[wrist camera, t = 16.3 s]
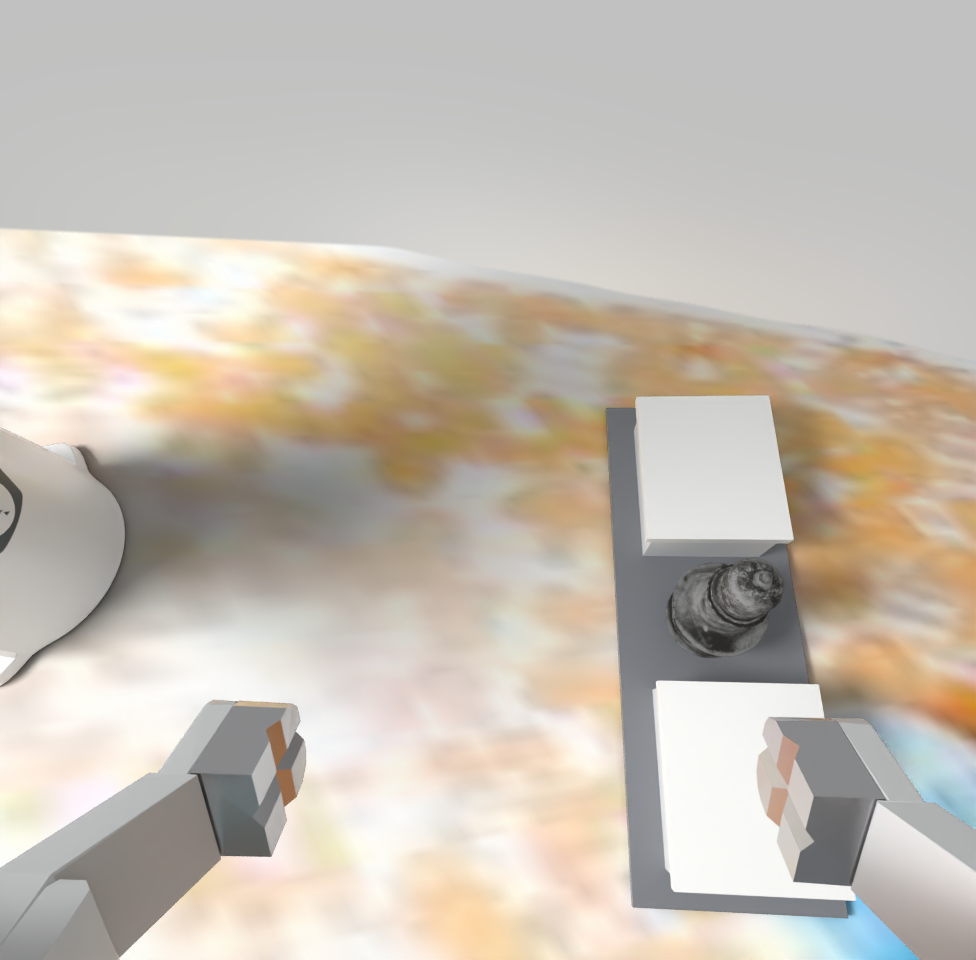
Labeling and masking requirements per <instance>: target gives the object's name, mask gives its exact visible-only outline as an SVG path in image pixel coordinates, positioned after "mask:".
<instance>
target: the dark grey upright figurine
mask: <svg viewBox="0 0 976 960" xmlns="http://www.w3.org/2000/svg"><path fill="white" fill-rule="evenodd" d="M784 591H785V585H784V580H783V578H782V575H781V573H780V572H779V571H778V569H777V568H776V567H775V566H774V565H772V564H771V563H770V562H768V561H766V560H764V559H760V558H746V559H742V560H740V561H739V562H737V563H736V564H730V565H728V564H724V563H712V562H709V563H705V564H701V565H697V566H695V567H694V568H692V569H690V570H688V571H687V572H686V573H685V574H684V575H683V576H682V577H681V578H680V579H679V581H678V583H677V585H676V587H675V588H674V592H673V593H672V594H671V596H670V598H669V600H668V602H667V607H666V611H665V612H666V623H667V626H668V629H669V632H670V633H671V635H672V637H673V638H674V640H675V641H676V642H677V643H678V644H679V645H680V646H681V647H682V648H683V649H684V650H686V651H688V652H689V653H691V654H693V655H696V656H699V657H703V658H717V657H721V656H723V657H732V656H736V655H741V654H744V653H746V652H748V651H749V650H751V649H753V648H754V647H755V646H756V645H757V644H758V643H759V642H760V641H761V640H762V638H763V636H764V634H765V632H766V630H767V627H768V621H769V613H770V611H771V609H773V608H775V607H776V606H777V605H778V604H779V603H780V602H781V600H782V598H783V595H784Z"/></svg>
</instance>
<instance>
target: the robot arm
mask: <svg viewBox="0 0 976 960" xmlns="http://www.w3.org/2000/svg"><path fill="white" fill-rule="evenodd" d="M124 543H125V526H124V519H123V515H122V512H121V509H120V506H119V504H118V502H117V501H116V499H115V497H114V496H113V494H112V493H111V492H110V491H109V490H108V489H107V488H106V487H105V486H104V485H103V484H101V483H100V482H99V481H98V480H96V479H95V478H94V477H93V476H92V475H91V474H90V473H89V471H88V468H87V466H86V463H85V460H84V458H83V456H82V454H81V452H80V451H79V450H78V449H77V448H75V447H73V446H71V445H69V444H66V443H58V444H52V445H47V446H39V445H37V444H35V443H33V442H31V441H29V440H27V439H25V438H22V437H20V436H18V435H16V434H14V433H12V432H10V431H8V430H5V429H3V428H1V427H0V686H1V685H2V684H4V683H5V682H7V681H8V680H9V679H10V678H11V677H12V676H13V675H14V674H15V673H16V672H17V671H18V670H19V669H20V668H21V667H22V666H23V665H24V664H25V663H26V662H27V660H28V659H29V658H30V657H31V656H32V655H33V654H34V653H36V652H37V651H38V650H40V649H41V648H43V647H45V646H46V645H48V644H50V643H52V642H53V641H55V640H57V639H58V638H60V637H62V636H63V635H65V634H66V633H68V632H69V631H70V630H72V629H73V628H74V627H76V626H77V625H78V624H79V623H80V622H81V621H82V620H84V619H85V618H86V617H87V616H88V615H89V614H90V613H91V611H92V610H93V609H94V608H95V607H96V606H97V605H98V603H99V602H100V601H101V599H102V598H103V596H104V595H105V594H106V592H107V590H108V589H109V587H110V585H111V583H112V581H113V580H114V578H115V575H116V573H117V571H118V568H119V565H120V562H121V559H122V555H123V550H124ZM299 723H300V716H299V712H298V708H297V706H296V705H294V704H290V703H271V702H253V701H223V700H212V701H211V702H209V703H207V704H206V705H205V706H204V707H203V709H202V710H201V711H200V713H199V714H198V716H197V717H196V719H195V720H194V722H193V723H192V724H191V726H190V727H189V729H188V730H187V732H186V733H185V734H184V736H183V737H182V739H181V740H180V742H179V743H178V744H177V746H176V747H175V749H174V750H173V752H172V753H171V754H170V756H169V757H168V759H167V760H166V762H165V763H164V764H163V766H162V767H161V769H160V770H159V772H158V773H148V774H147V775H145V776H143V777H142V778H140V779H139V780H137V781H136V782H134V783H133V784H131V785H129V786H128V787H126V788H125V789H123V790H122V791H120V792H118V793H117V794H115V795H114V796H112V797H111V798H109V799H107V800H106V801H104V802H103V803H101V804H100V805H98V806H96V807H95V808H93V809H92V810H90V811H89V812H87V813H85V814H84V815H82V816H81V817H79V818H78V819H76V820H75V821H73V822H71V823H70V824H68V825H67V826H65V827H64V828H62V829H60V830H59V831H57V832H56V833H54V834H53V835H51V836H49V837H48V838H46V839H45V840H43V841H42V842H40V843H38V844H37V845H35V846H34V847H32V848H31V849H29V850H27V851H26V852H24V853H23V854H21V855H20V856H18V857H17V858H15V859H13V860H12V861H10V862H9V863H7V864H6V865H4V866H2V867H1V868H0V960H120V958H119V957H120V956H122V955H123V954H124V953H125V952H126V951H127V950H128V949H129V948H130V947H131V946H132V945H133V944H134V943H135V942H136V941H137V940H138V939H139V938H140V937H141V936H142V935H143V934H144V933H145V932H146V931H147V930H148V929H149V928H150V927H151V926H152V925H154V924H155V923H156V922H157V921H158V920H159V919H160V918H161V917H162V916H163V915H164V914H165V913H166V912H167V911H168V910H169V909H170V908H171V907H172V906H173V905H174V904H175V903H176V902H177V901H178V900H179V899H180V898H181V897H182V896H183V895H184V894H186V893H187V892H188V891H189V890H190V889H191V888H192V887H193V886H194V885H195V884H196V883H197V882H198V881H199V880H200V879H201V878H202V877H203V876H204V875H205V874H206V873H207V872H208V871H209V870H210V869H211V868H212V867H213V866H214V865H215V864H216V863H218V862H219V861H220V860H221V856H258V857H271V856H272V854H273V851H274V849H275V847H276V844H277V842H278V840H279V837H280V835H281V833H282V830H283V828H284V825H285V823H286V821H287V819H286V814H285V809H284V807H285V806H286V805H287V804H288V803H290V802H291V801H292V800H293V799H294V798H296V797H297V794H298V792H299V789H300V787H301V784H302V782H303V777H304V772H305V766H306V748H305V742H304V739H303V738H302V737H301V736H300V735H299V734H298V733H296V732H295V731H296V729H297V727H298V725H299ZM762 735H763V737H764V740H765V742H766V744H767V746H768V747H767V748H766V749H765V750H764V751H763V752H761V753H760V754H759V756H758V763H757V770H756V772H757V786H758V791H759V795H760V799H761V803H762V805H763V808H764V811H765V813H766V816H767V817H768V818H770V819H771V820H772V821H773V822H774V823H775V824H776V825H778V826H779V827H780V828H779V833H778V837H777V843H778V846H779V848H780V851H781V853H782V856H783V858H784V861H785V863H786V866H787V868H788V870H789V873H790V875H791V878H792V880H793V882H801V883H814V884H827V885H840V886H852V887H851V890H852V891H853V892H854V893H855V894H856V895H857V896H858V897H859V898H860V899H861V900H862V901H863V902H864V903H865V904H866V905H867V906H868V907H869V908H870V909H871V910H872V912H873V913H874V914H875V915H876V916H877V917H878V918H879V919H880V920H881V921H882V922H883V923H884V924H885V925H886V926H887V927H888V928H889V929H890V930H891V931H892V932H893V933H894V934H895V935H896V936H897V937H898V938H899V939H900V940H901V941H902V942H903V943H904V944H905V945H906V946H907V947H908V948H909V949H910V950H911V951H912V952H913V953H914V954H915V955H916V956H917V957H918V958H919V959H920V960H976V830H975V829H973V828H972V827H970V826H969V825H967V824H966V823H964V822H963V821H961V820H960V819H958V818H957V817H955V816H954V815H952V814H951V813H949V812H948V811H946V810H945V809H943V808H942V807H940V806H939V805H937V804H936V803H929V802H924V800H923V799H922V798H921V796H920V795H919V793H918V792H917V790H916V789H915V787H914V786H913V785H912V783H911V782H910V780H909V779H908V777H907V776H906V775H905V773H904V772H903V770H902V769H901V767H900V766H899V764H898V763H897V762H896V760H895V759H894V757H893V756H892V754H891V753H890V752H889V750H888V749H887V747H886V746H885V744H884V743H883V741H882V740H881V739H880V737H879V736H878V734H877V733H876V731H875V730H874V729H873V727H872V726H871V724H870V723H869V722H867V721H866V720H865V719H863V718H830V719H828V718H796V717H768V719H767V720H766V722H765V725H764V729H763V734H762Z"/></svg>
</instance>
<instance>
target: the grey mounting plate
mask: <svg viewBox="0 0 976 960" xmlns="http://www.w3.org/2000/svg"><path fill="white" fill-rule="evenodd" d="M635 407H636V408H606V426H607V445H608V464H609V483H610V502H611V521H612V540H613V559H614V578H615V597H616V616H617V635H618V654H619V673H620V692H621V711H622V730H623V749H624V768H625V787H626V806H627V825H628V844H629V863H630V882H631V901H632V906H633V907H636V908H655V909H675V910H694V911H714V912H733V913H753V914H772V915H792V916H811V917H831V918H848V913H847V907H846V901H845V900H848V901H856V898H855V893H854V892H853V891H852V890H851V887H852V886H840V885H827V884H814V883H801V882H793V880H792V878H791V875H790V873H789V870H788V868H787V866H786V863H785V861H784V858H783V856H782V853H781V851H780V848H779V846H778V843H777V837H778V833H779V828H780V827H779V826H778V825H776V824H775V823H774V822H773V821H772V820H771V819H770V818H768V817H767V816H766V813H765V811H764V808H763V805H762V803H761V799H760V795H759V791H758V786H757V772H756V770H757V763H758V756H759V754H760V753H761V752H763V751H764V750H765V749H766V748H767V747H768V746H767V744H766V742H765V740H764V737H763V735H762V734H763V729H764V725H765V722H766V720H767V719H768V717H796V718H824V712H823V706H822V700H821V695H820V689H819V684H809V679H808V673H807V667H806V661H805V655H804V649H803V643H802V637H801V631H800V625H799V619H798V613H797V607H796V601H795V595H794V589H793V583H792V577H791V571H790V565H789V559H788V553H787V547H786V543H790V542H792V541H793V540H794V538H793V532H792V526H791V520H790V515H789V509H788V503H787V497H786V491H785V486H784V480H783V474H782V468H781V462H780V457H779V451H778V445H777V439H776V433H775V427H774V422H773V416H772V410H771V404H770V398H769V395H760V396H655V397H637V398H636V401H635ZM746 558H760V559H764V560H766V561H768V562H770V563H771V564H772V565H774V566H775V567H776V568H777V569H778V571H779V572H780V573H781V575H782V578H783V580H784V585H785V591H784V595H783V598H782V600H781V602H780V603H779V604H778V605H777V606H776V607H775V608H773V609H771V611H770V613H769V621H768V627H767V630H766V632H765V634H764V636H763V638H762V640H761V641H760V642H759V643H758V644H757V645H756V646H755V647H754V648H753V649H751V650H749V651H748V652H746V653H744V654H741V655H736V656H732V657H723V656H721V657H717V658H703V657H699V656H696V655H693V654H691V653H689V652H688V651H686V650H684V649H683V648H682V647H681V646H680V645H679V644H678V643H677V642H676V641H675V640H674V638H673V637H672V635H671V633H670V632H669V629H668V626H667V623H666V612H665V611H666V607H667V602H668V600H669V598H670V596H671V594H672V593H673V592H674V588H675V587H676V585H677V583H678V581H679V579H680V578H681V577H682V576H683V575H684V574H685V573H686V572H687V571H688V570H690V569H692V568H694V567H695V566H697V565H701V564H705V563H709V562H712V563H724V564H728V565H730V564H736V563H737V562H739V561H740V560H742V559H746Z"/></svg>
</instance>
